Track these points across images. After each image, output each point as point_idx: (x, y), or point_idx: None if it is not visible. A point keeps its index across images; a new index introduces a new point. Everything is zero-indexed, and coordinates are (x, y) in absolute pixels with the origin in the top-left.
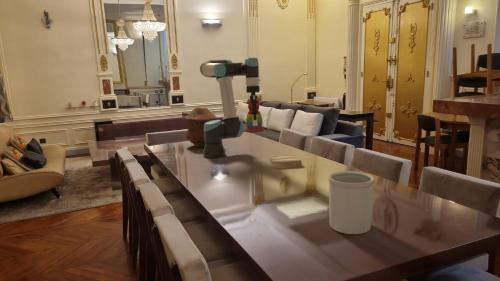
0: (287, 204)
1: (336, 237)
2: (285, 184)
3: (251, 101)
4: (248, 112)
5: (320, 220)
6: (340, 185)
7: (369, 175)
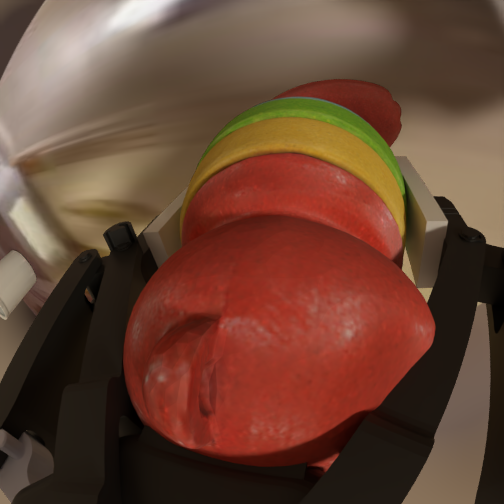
0: (31, 211)
1: (4, 249)
2: (102, 211)
3: (70, 412)
4: (217, 183)
5: (18, 244)
6: None
7: (4, 318)
